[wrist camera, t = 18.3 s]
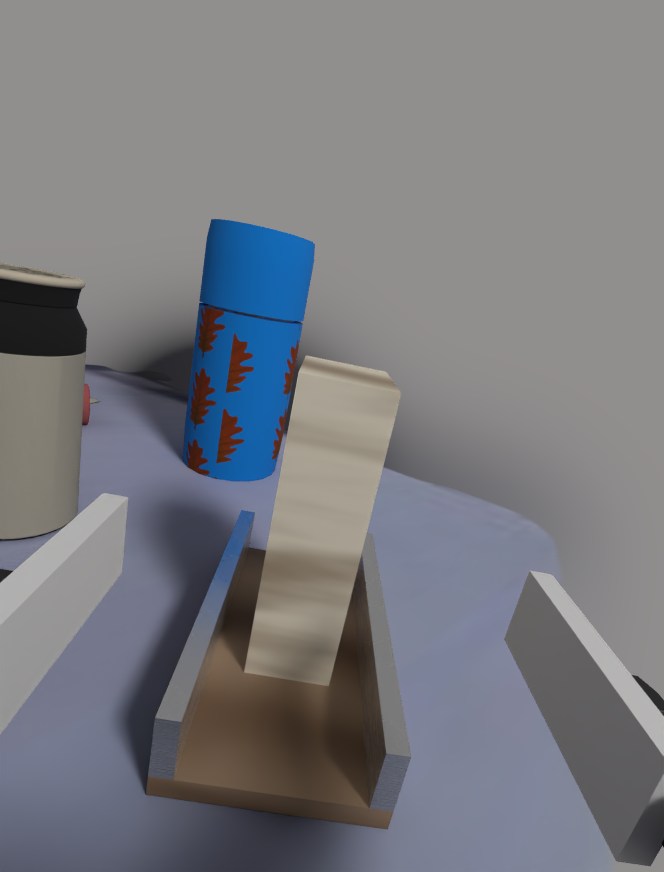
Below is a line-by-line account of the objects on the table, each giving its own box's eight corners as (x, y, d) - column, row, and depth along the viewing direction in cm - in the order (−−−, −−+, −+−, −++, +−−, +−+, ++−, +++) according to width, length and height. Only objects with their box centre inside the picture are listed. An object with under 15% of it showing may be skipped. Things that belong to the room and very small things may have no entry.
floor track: (387, 829, 19) (411, 757, 18) (146, 794, 19) (155, 717, 18) (360, 578, 37) (372, 533, 36) (234, 556, 36) (241, 510, 35)
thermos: (243, 442, 62) (274, 241, 55) (294, 474, 55) (338, 248, 48) (163, 449, 54) (188, 216, 47) (212, 487, 47) (249, 220, 40)
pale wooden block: (328, 686, 25) (401, 393, 20) (244, 672, 24) (298, 372, 20) (329, 612, 30) (385, 371, 26) (260, 600, 30) (306, 355, 26)
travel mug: (59, 546, 33) (69, 283, 28) (-75, 539, 31) (-90, 253, 26) (89, 497, 40) (101, 281, 35) (-18, 488, 38) (-21, 257, 33)
